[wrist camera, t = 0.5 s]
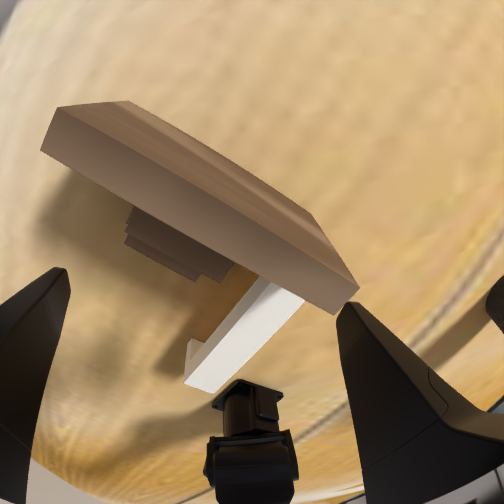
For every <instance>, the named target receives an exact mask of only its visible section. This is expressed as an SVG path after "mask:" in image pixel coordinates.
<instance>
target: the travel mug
mask: <svg viewBox="0 0 504 504" xmlns="http://www.w3.org/2000/svg"><path fill="white" fill-rule="evenodd" d="M486 311H487V313H488V315H489V316H490V317H491V318H492V320H493V321H494V322H495V323H496V325H497V326H498V327H499V328H500V330H501V331H502V332H503V334H504V276H503V277H501V278H500V279H499V281H498V282H497V283H496V284H495V286H494V287H493V289H492V290H491V292H490V294H489V296H488V299H487V302H486Z"/></svg>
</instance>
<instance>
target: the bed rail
mask: <svg viewBox="0 0 504 504" xmlns="http://www.w3.org/2000/svg"><path fill="white" fill-rule="evenodd" d="M304 301H305V300H304V299H302V298H300V297H298V296H296V295H295V294H293V293H291V292H289V291H287V290H285V289H283V288H282V287H280V286H278V285H276V284H274V283H272V282H271V281H269V280H267V279H265V278H263V277H261V276H259V277H258V278H257V280H256V281H255V282H254V283H253V285H252V286H251V287H250V288H249V290H248V291H247V292H246V293H245V294H244V296H243V297H242V298H241V299H240V301H239V302H238V303H237V304H236V306H235V307H234V308H233V309H232V310H231V312H230V313H229V314H228V315H227V316H226V318H225V319H224V320H223V321H222V323H221V324H220V325H219V326H218V327H217V329H216V330H215V331H214V332H213V333H212V335H211V336H210V337H209V338H208V339H207V341H206V342H205V343H203V342H200V341H198V340H196V339H194V338H191V340H190V341H189V342H188V344H187V352H186V361H185V372H184V382H183V383H184V384H187V385H190V386H192V387H195V388H198V389H201V390H203V391H206V392H209V393H212V394H214V393H215V392H216V391H217V390H218V389H219V388H220V387H221V386H222V385H223V384H224V383H225V382H226V381H227V380H228V379H229V378H231V377H232V376H233V375H234V374H235V373H236V372H237V371H238V370H239V369H240V368H241V367H242V366H243V365H244V364H245V363H246V362H247V361H248V360H249V359H250V358H251V357H252V356H253V355H254V354H255V353H256V352H257V351H258V350H259V349H260V348H261V347H262V346H263V345H264V344H265V343H266V342H267V341H268V340H269V339H270V338H271V337H272V336H273V334H274V333H275V332H276V331H277V330H278V329H279V328H280V327H281V326H282V325H283V324H284V323H285V322H286V321H287V320H288V319H289V318H290V317H291V316H292V314H293V313H294V312H295V311H296V310H297V309H298V308H299V307H300V306H301V305H302V304H303V303H304Z"/></svg>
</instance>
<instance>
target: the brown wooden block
mask: <svg viewBox="0 0 504 504" xmlns="http://www.w3.org/2000/svg"><path fill="white" fill-rule="evenodd" d="M40 151H42V152H44V153H45V154H47V155H49V156H50V157H52V158H54V159H56V160H57V161H59V162H61V163H62V164H64V165H66V166H67V167H69V168H71V169H72V170H74V171H76V172H78V173H79V174H81V175H83V176H84V177H86V178H88V179H90V180H91V181H93V182H95V183H96V184H98V185H100V186H102V187H103V188H105V189H107V190H108V191H110V192H112V193H114V194H115V195H117V196H119V197H121V198H122V199H124V200H126V201H128V202H129V203H131V204H133V205H134V206H135V207H134V208H133V210H132V212H131V214H130V216H129V218H128V220H127V222H126V224H128V226H127V228H126V230H125V232H127V233H128V236H127V238H126V240H125V242H124V244H126V245H127V246H129V247H131V248H133V249H135V250H136V251H138V252H140V253H142V254H144V255H145V256H147V257H149V258H151V259H153V260H155V261H156V262H158V263H160V264H162V265H164V266H166V267H168V268H170V269H171V270H173V271H175V272H177V273H179V274H181V275H183V276H185V277H187V278H188V279H190V280H192V281H194V282H196V280H197V279H198V278H199V276H200V275H201V273H202V274H204V275H205V276H207V277H209V278H211V279H213V280H215V281H217V282H219V283H220V282H221V280H222V279H223V278H224V276H225V275H226V274H227V272H228V271H229V269H230V268H231V267H232V265H233V264H234V263H235V262H236V263H238V264H240V265H241V266H243V267H245V268H247V269H249V270H250V271H252V272H254V273H256V274H258V275H260V276H261V277H263V278H265V279H267V280H269V281H271V282H272V283H274V284H276V285H278V286H280V287H282V288H283V289H285V290H287V291H289V292H291V293H293V294H295V295H296V296H298V297H300V298H302V299H304V300H306V301H308V302H309V303H311V304H313V305H315V306H317V307H319V308H321V309H323V310H324V311H326V312H328V313H330V314H332V315H335V314H336V313H337V312H338V311H339V310H340V309H341V308H342V307H343V306H344V305H345V303H346V302H347V301H348V300H349V299H350V298H351V297H352V296H353V295H354V294H355V293H356V292H357V291H358V290H359V289H360V287H359V285H358V284H357V282H356V281H355V279H354V278H353V276H352V274H351V273H350V271H349V270H348V268H347V267H346V265H345V264H344V262H343V260H342V259H341V257H340V256H339V254H338V253H337V251H336V250H335V248H334V247H333V245H332V244H331V242H330V241H329V239H328V238H327V236H326V235H325V234H324V232H323V231H322V229H321V228H320V226H319V225H318V223H317V222H316V220H315V219H314V218H313V216H312V215H311V214H310V213H309V212H308V211H306V210H305V209H303V208H302V207H300V206H299V205H297V204H296V203H295V202H293V201H292V200H290V199H289V198H287V197H286V196H284V195H283V194H281V193H280V192H278V191H277V190H275V189H274V188H272V187H271V186H269V185H268V184H266V183H265V182H263V181H262V180H260V179H259V178H257V177H256V176H254V175H253V174H251V173H249V172H248V171H246V170H245V169H243V168H242V167H240V166H238V165H237V164H235V163H234V162H232V161H231V160H229V159H227V158H226V157H224V156H223V155H221V154H219V153H218V152H216V151H214V150H213V149H211V148H210V147H208V146H206V145H205V144H203V143H201V142H200V141H198V140H196V139H195V138H193V137H191V136H190V135H188V134H186V133H185V132H183V131H181V130H179V129H178V128H176V127H174V126H173V125H171V124H169V123H167V122H166V121H164V120H162V119H160V118H159V117H157V116H155V115H153V114H151V113H150V112H148V111H146V110H144V109H142V108H141V107H139V106H137V105H135V104H133V103H131V102H130V101H119V102H103V103H91V104H81V105H72V106H64V107H57V109H56V111H55V114H54V116H53V118H52V121H51V123H50V126H49V128H48V131H47V133H46V136H45V138H44V141H43V144H42V146H41V149H40Z"/></svg>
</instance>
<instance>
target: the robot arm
mask: <svg viewBox="0 0 504 504" xmlns="http://www.w3.org/2000/svg"><path fill="white" fill-rule="evenodd" d="M70 294H71V288H70V283H69V278H68V273H67V271H66V269H64V268H59V267H54V268H52V269H50V270H49V271H47V272H46V273H44V274H43V275H42V276H40V277H39V278H37V279H36V280H34V281H33V282H31V283H30V284H29V285H27V286H26V287H24V288H23V289H22V290H20V291H19V292H17V293H16V294H15V295H13V296H12V297H11V298H9V299H8V300H7V301H5V302H4V303H3V304H1V305H0V498H1V499H3V500H6V501H9V502H11V503H14V504H26V491H27V480H28V472H29V465H30V458H31V450H32V445H33V439H34V434H35V428H36V423H37V419H38V414H39V410H40V405H41V401H42V397H43V393H44V389H45V385H46V382H47V378H48V375H49V371H50V368H51V364H52V361H53V358H54V354H55V351H56V348H57V345H58V342H59V339H60V335H61V331H62V327H63V323H64V318H65V314H66V310H67V306H68V302H69V299H70ZM336 328H337V336H338V344H339V353H340V360H341V366H342V371H343V376H344V380H345V385H346V389H347V394H348V399H349V404H350V409H351V414H352V419H353V424H354V429H355V434H356V440H357V445H358V451H359V457H360V463H361V469H362V476H363V482H364V489H365V496H366V503H367V504H504V414H495V413H494V414H493V413H488V412H485V411H482V410H480V409H478V408H477V407H475V406H474V405H473V404H472V403H471V402H469V401H468V400H467V399H466V398H464V397H463V396H462V395H461V394H460V393H458V392H457V391H456V390H455V389H454V388H452V387H451V386H450V385H449V384H448V383H446V382H445V381H444V380H443V379H442V378H441V377H440V376H439V375H437V374H436V373H435V372H434V371H433V370H432V369H431V368H430V367H429V366H427V364H426V363H425V362H424V361H422V360H421V359H420V358H419V357H418V356H417V355H416V354H415V353H414V352H413V351H412V350H411V349H410V348H408V347H407V346H406V345H405V344H404V343H403V342H402V341H401V340H400V339H399V338H398V337H396V336H395V335H394V334H393V333H392V332H391V331H390V330H389V329H388V328H387V327H385V326H384V325H383V324H382V323H381V322H380V321H379V320H378V319H377V318H375V317H374V316H373V315H372V314H371V313H370V312H369V311H368V310H367V309H365V308H364V307H363V306H362V305H361V304H360V303H358V302H351V301H348V302H346V303H345V305H344V306H343V308H342V310H341V312H340V314H339V315H338V317H337V320H336ZM283 397H284V396H283V393H282V392H279V391H276V390H273V389H269V388H266V387H263V386H260V385H257V384H254V383H251V382H248V381H245V380H242V379H239V380H237V381H236V382H235V383H234V384H233V385H232V386H231V387H229V388H228V389H227V390H226V391H225V392H224V393H223V394H222V395H221V396H220V397H218V398H217V399H216V400H215V401H214V402H213V403H212V408H214V409H217V410H221V411H223V434H224V437H215V436H212V437H210V440H209V442H208V443H207V457H206V461H205V465H204V469H203V474H204V476H206V477H207V478H208V481H209V483H210V486H211V488H215V493H216V500H217V501H218V503H219V504H290V502H291V500H292V498H293V495H294V484H293V481H296V480H299V472H298V464H297V458H296V453H295V449H294V445H293V441H292V437H291V433H290V429H287V430H285V431H279V425H278V420H279V414H278V408H277V402H278V401H280V400H281V399H282V398H283Z"/></svg>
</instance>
